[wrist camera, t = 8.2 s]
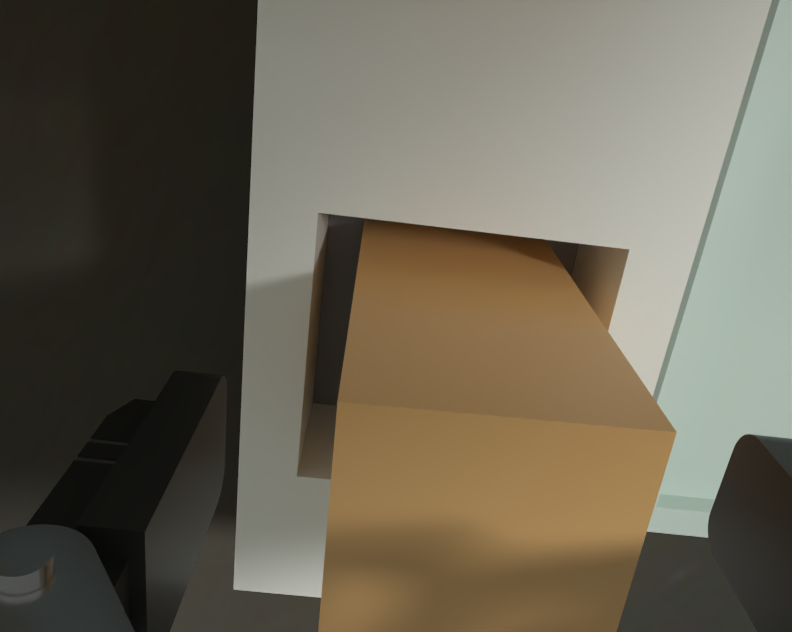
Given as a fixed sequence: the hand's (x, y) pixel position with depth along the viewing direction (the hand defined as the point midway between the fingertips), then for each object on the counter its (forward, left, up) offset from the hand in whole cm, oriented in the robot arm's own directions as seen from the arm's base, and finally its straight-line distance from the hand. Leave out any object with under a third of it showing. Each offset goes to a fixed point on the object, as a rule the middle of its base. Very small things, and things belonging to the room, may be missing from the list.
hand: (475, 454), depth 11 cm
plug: (0, 0, -6) cm, 6 cm away
